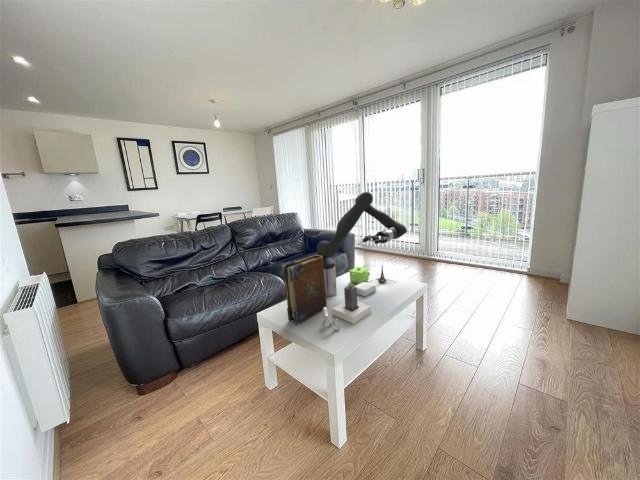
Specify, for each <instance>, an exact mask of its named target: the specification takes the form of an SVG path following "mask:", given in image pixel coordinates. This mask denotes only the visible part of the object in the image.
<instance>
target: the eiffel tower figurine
mask: <svg viewBox="0 0 640 480" xmlns="http://www.w3.org/2000/svg"><path fill="white" fill-rule="evenodd" d="M383 267H384V265H383V264H381V273H380V277H378V278H376V279H375V280H377V282H378V284H381V285H382V284H384V283H383V282H386V281H387V282H386V283H385V284H387V283H388V281H389V279H388V280H387V278H386V277H385V275H384V270H383ZM390 280H391V279H390ZM392 281H393V280H391V282H392ZM394 281H395V282H394V283H397V280H394ZM370 282H372V280H370ZM370 282H369V283H370Z"/></svg>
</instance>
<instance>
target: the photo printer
mask: <svg viewBox="0 0 640 480" xmlns="http://www.w3.org/2000/svg"><path fill="white" fill-rule="evenodd" d="M353 286H354V287H357V295H359V296H362V297H366V296H369V295H370V294H372V293H374V292H375V291H376V290H377V285H375V284H373V283H370V282H367V281H366V282H362V283H360V284H356V285H353Z"/></svg>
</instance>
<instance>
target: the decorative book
mask: <svg viewBox="0 0 640 480" xmlns="http://www.w3.org/2000/svg"><path fill="white" fill-rule="evenodd" d="M281 267H282V268H281V269H282V275H283V280H284V284H285V285H284V287H285V294H286V295H285V296H286V303H287V304H286V305H287V308H286V311H287V320H289V321H292V320H294V319H295V320H294V323H295V324H296V325H295V326H297V325H298V326H300V325H301V324H302V322H303V323H305V322H306V321H308V319H309V318H311V317H313V316H314V315H316V314H317V313H320V312H321V311H323V307H326V308H327V305H328V303H327V296H326V290H325V278H324V265H323V256H321V255H317V254H316V255H311V256H308V257H305V258H303V259H299V260H298V261H289V262H286V263H285V264H282V265H281ZM289 321H288V322H289ZM304 321H305V322H304ZM292 322H293V321H292ZM299 324H300V325H299Z"/></svg>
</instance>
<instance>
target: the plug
mask: <svg viewBox="0 0 640 480" xmlns="http://www.w3.org/2000/svg"><path fill="white" fill-rule="evenodd" d="M354 286H355V285H353V283H350V282H348V286H346V287H345V286H344V288H343V289H344V302H345V309H347V310H349V311H352V312H353V311H354V310H356V309H358V303H357V302H358V294H357V287H354Z"/></svg>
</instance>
